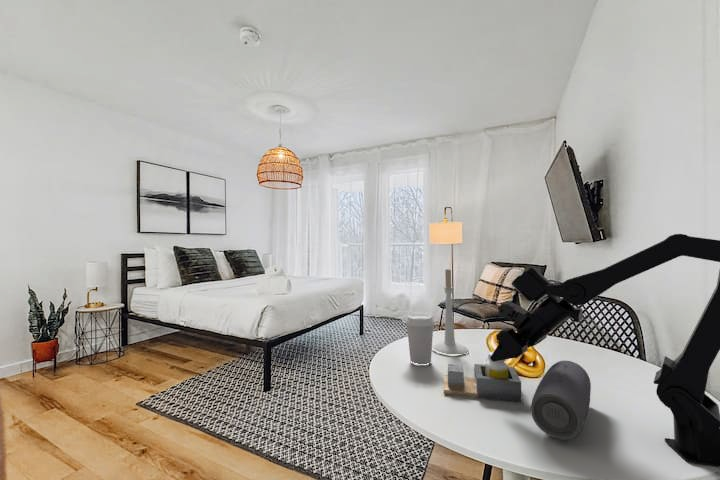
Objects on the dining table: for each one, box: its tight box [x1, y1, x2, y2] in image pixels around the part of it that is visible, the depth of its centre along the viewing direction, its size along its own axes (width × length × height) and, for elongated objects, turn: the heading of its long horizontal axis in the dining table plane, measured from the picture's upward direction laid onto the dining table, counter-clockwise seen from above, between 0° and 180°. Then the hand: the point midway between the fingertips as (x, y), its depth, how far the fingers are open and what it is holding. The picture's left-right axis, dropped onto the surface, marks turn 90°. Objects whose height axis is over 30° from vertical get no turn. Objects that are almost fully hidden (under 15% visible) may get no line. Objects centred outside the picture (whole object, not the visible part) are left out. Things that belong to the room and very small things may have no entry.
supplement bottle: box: [485, 351, 509, 379], centre depth 82 cm, size 5×5×10 cm
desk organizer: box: [443, 363, 523, 404], centre depth 83 cm, size 10×18×5 cm, turn 73°
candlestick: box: [432, 268, 469, 354], centre depth 116 cm, size 13×13×30 cm
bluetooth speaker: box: [530, 360, 592, 440], centre depth 69 cm, size 23×9×10 cm, turn 141°
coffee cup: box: [405, 313, 436, 364], centre depth 104 cm, size 10×10×15 cm
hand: (499, 355), depth 81 cm, fingers open, 9 cm apart
